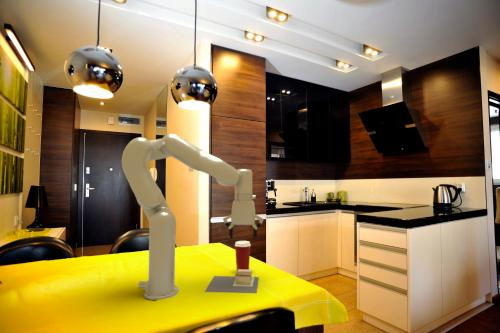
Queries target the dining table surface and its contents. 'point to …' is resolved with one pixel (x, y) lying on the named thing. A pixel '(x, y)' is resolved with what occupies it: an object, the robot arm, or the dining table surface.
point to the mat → (231, 285)
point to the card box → (243, 277)
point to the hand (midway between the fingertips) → (243, 238)
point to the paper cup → (242, 254)
